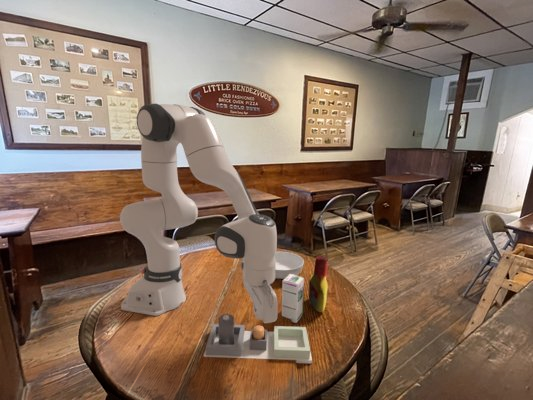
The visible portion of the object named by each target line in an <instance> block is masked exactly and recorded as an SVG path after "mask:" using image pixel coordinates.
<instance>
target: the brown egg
mask: <svg viewBox="0 0 533 400" xmlns="http://www.w3.org/2000/svg"><path fill="white" fill-rule="evenodd" d="M264 330H265V328H264V326H263V325H260V324H259V325H255V326H254V327H253V339H254V340H264Z"/></svg>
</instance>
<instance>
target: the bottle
mask: <svg viewBox="0 0 533 400" xmlns="http://www.w3.org/2000/svg"><path fill="white" fill-rule="evenodd" d="M327 269H328V259H327V257H326V256H324V255H317V256H316V257H315V262H314V271H313V273H312V274H311V276H310V278H309V281H308V283H309V284H308V299H309V302H310V305H311V307H312V308H313V309H314V311H316V312H319V313H323V312H325V308H326V304H327V297H328V286H329V285H328V281H327Z"/></svg>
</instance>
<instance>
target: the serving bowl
mask: <svg viewBox="0 0 533 400" xmlns="http://www.w3.org/2000/svg"><path fill="white" fill-rule="evenodd" d="M275 261H276V269H275V279H280V280H281V279H283V280H284V279H285V278H286V277H287V276H288V275H289V274H294V275H299V274H300V273H301V271H302V270H303V267H304V264H305V259H304V258H303V257H302V256H300V255H298V254H296V253H292V252H289V251H276V252H275Z"/></svg>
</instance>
